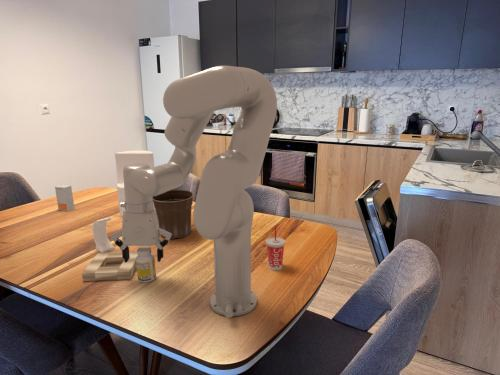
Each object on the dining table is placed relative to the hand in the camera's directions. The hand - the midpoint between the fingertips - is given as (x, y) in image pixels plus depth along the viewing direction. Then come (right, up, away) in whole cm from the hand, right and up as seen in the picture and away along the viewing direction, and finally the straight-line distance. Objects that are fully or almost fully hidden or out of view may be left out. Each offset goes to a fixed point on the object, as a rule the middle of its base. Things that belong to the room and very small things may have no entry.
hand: (143, 260), depth 106 cm
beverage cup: (+40, -4, +8) cm, 41 cm away
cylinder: (-21, +10, +62) cm, 66 cm away
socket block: (-12, -4, +7) cm, 15 cm away
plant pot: (+2, +3, +35) cm, 36 cm away
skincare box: (-57, +11, +65) cm, 87 cm away
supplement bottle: (+1, -6, +1) cm, 6 cm away
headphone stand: (-21, -1, +22) cm, 30 cm away
